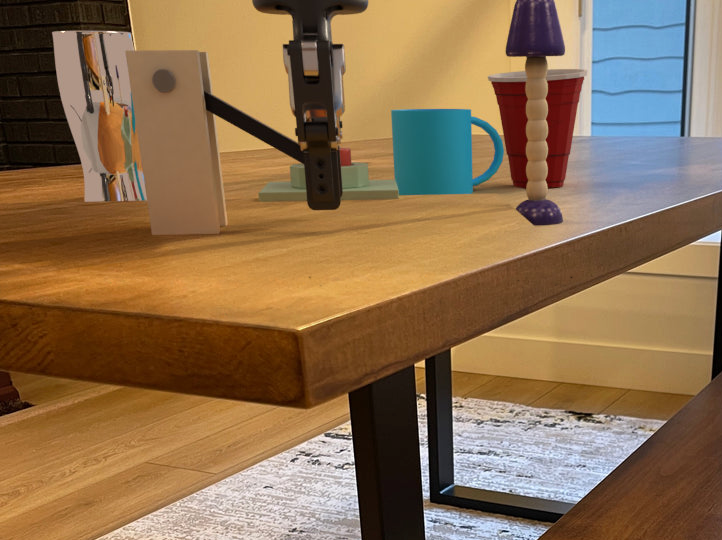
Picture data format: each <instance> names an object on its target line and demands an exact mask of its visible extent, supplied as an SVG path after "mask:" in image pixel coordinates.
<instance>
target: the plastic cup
mask: <svg viewBox="0 0 722 540" xmlns="http://www.w3.org/2000/svg"><path fill="white" fill-rule="evenodd" d="M587 75H588V69H581V68H557V69H556V68H555V69H553V68H552V69H548V72H547V75H546V77H545V79H546V81H547V84H548V93H547V96H546V101H547V105H548V114H547V117H546V121H547V124H548V135H547V138H546V142H547V146H548V154H547V158H546V160H545V161H546V163H547V167H548V173H547V177H546V180H545V181H546V183H547V187H548V189H550V188H552V189H553V188H561V187H564V183H565V180H566V176H567V170H568V164H569V157H570V155H571V149H572V143H573V138H574V131H575V126H576V125H575V124H576V118H577V112H578V105H579V103H580V98H581V93H582V90H583V89H582V88H583V84H584V80H585V77H587ZM527 79H528V78H527V75H526V72H525V70H522V71H521V70H520V71H519V70H518V71H509V72H499V73H494V74H493V73H492V74H488V75H487V80H488V82H490V83H491V85H492V88H493V91H494V95H495V97H496V103H497V105H498V111H499V116H500V121H501V122H500V123H501V129H502V134H503V140H504V144H505V145H504V146H505V151H506V155H507V157H508V158H507V160H508V165H509V172H510V179H511V181H512V186H513V187H515V188H523V189H526V187H527V183H528V178H527V175H526V166H527V163H528V158H527V156H526V145H527V142H528V138H527V135H526V125H527V122H528V118H527V115H526V103H527V101H528V98H527V95H526V90H525V88H526V82H527Z"/></svg>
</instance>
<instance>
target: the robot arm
mask: <svg viewBox="0 0 722 540" xmlns="http://www.w3.org/2000/svg"><path fill="white" fill-rule="evenodd" d="M251 3H252V6H253V8H254V9H255V10H256V11H258V12H259V13H262V14H269V15H283V16H284V15H286V16H287V15H288V16H291V19H292V21H291V22H292V38H293V39H289V40H288V43H282V60H283V61H282V62H283V65H284V70H285V73H286V74H287V77H288V78H287V79H288V97H289V107H290V110H291V114H292V115H293V116H294V117H295V123H296V125H295V126H296V127H295V128H294V134H295V137H297V142H298V145H300V147H301V151H308V152H303V157H304V169H305V181H306V193H307V201H306V202H307V206H308V208H309V209H310V210H312V211H335V210H337V209H339V208H340V206H341V201H342V200H341V199H340V198H341V197H342V194H343V188H342V174H341V160H340V148H341V147H340V145H341V144H342V140H343V138H344V137H343V131H342V130H341V129H343V120H341V117H342V116H343V114H344V113H345V112H346V100H345V86H344V75H345V74H346V72H347V71H346V52H345V45H344V43H333V35H332V25H331V24H332V20H333V18H334V17H335V16H337V15H338V16H345V15H346V16H347V15H349V16H350V15H357V14H363V13H364V12H365V11H366V10H367V9H368V7H369V0H251Z"/></svg>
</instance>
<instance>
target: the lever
mask: <svg viewBox="0 0 722 540" xmlns="http://www.w3.org/2000/svg"><path fill="white" fill-rule="evenodd" d="M203 90H204V89H203ZM204 98H205V107H206V110H207V111H209V112H211V113H213V114H215V117H218V118H220V119H222V120H224V121H225V122H227V123H228V124H231V125H233V126H234V127H236V128H237V129H240V130H241V131H243V132H245V133H246V134H249V136H250V135H251V136H253V138H256V139H258V140H259V141H261V142H263V143H265V144H267V145H269V147H272V148H273V149H276V150H277V151H279V152H282V153H283V154H285V155H286V156H287V157H290V158H292V159H293V160H295V161H297V162H298V163H302V164H304V157H303V152H308V151H301V147H300V145H298V141H296V140H294V139H293V138H291V137H289V136H287V135H286V134H283V133H282V132H280V131H278V130H276V129H274V128H272V126H269V125H268V124H266V123H264V122H262V121H260V120H259V119H257V118H255V117H254V116H252V115H250V114H248V113H246V112H245V111H243V110H241V109H239V108H237V107H236V106H234V105H232V104H230V103H228V102H227V101H225V100H223V99H221V98H219V97H218V96H216V95H214V94H213V95H212V94H211V93H209V92H207V91H205V90H204Z"/></svg>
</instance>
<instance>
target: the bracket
mask: <svg viewBox="0 0 722 540" xmlns="http://www.w3.org/2000/svg"><path fill="white" fill-rule="evenodd" d="M125 52H126V59H127V66H128V73H129V80H130V87H131V94H132V100H133V107H134V114H135V121H136V128H137V135H138V142H139V149H140V155H141V162H142V169H143V176H144V183H145V190H146V197H147V200H146V205H147V210H148V217H149V224H150V230H151V235H152V236H173V235H174V236H175V235H177V236H178V235H180V236H181V235H214V234H215V235H216V234H220V233H221V227H227V226H228V224H229V223H228V213H227V204H226V196H225V188H224V180H223V169H222V163H221V154H220V153H221V152H220V145H219V137H218V136H219V135H218V129H217V128H218V127H217V120H216V119H217V118H216V115H215V114H213V113H211V112H209V111H207V110H206V107H205V98H204V90H205V91H207V92H209V93H211V94H212V95H214V93H213V83H212V75H211V67H210V58H209V52H207V51H199V50H197V49H180V50H179V49H168V50H167V49H166V50H164V49H162V50H161V49H160V50H159V49H155V50H154V49H153V50H152V49H151V50H150V49H149V50H148V49H147V50H146V49H145V50H143V49H142V50H141V49H140V50H139V49H138V50H137V49H134V50H126V51H125ZM203 89H204V90H203Z"/></svg>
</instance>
